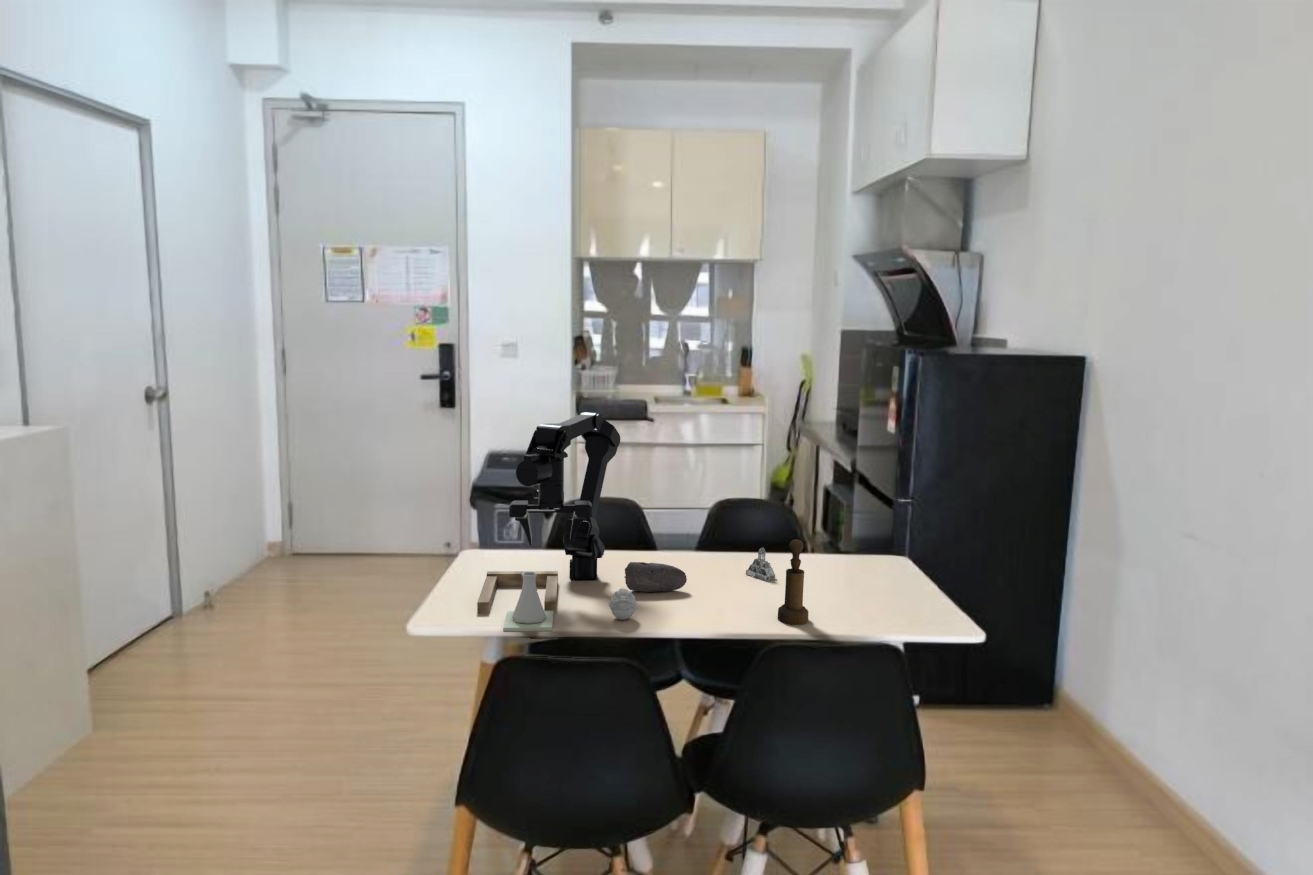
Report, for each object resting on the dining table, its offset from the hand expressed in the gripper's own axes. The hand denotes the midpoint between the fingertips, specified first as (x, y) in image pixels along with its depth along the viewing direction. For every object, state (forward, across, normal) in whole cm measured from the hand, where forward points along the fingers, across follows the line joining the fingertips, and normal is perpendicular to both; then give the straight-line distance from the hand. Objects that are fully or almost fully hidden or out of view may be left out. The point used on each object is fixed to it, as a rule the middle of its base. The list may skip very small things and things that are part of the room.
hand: (550, 545), depth 196 cm
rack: (+12, +7, +2) cm, 14 cm away
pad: (+12, +4, +18) cm, 22 cm away
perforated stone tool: (+12, -25, -3) cm, 28 cm away
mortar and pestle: (+12, -53, +18) cm, 58 cm away
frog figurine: (+12, -16, +17) cm, 26 cm away
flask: (+11, +4, +18) cm, 22 cm away
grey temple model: (+13, -55, -15) cm, 59 cm away
